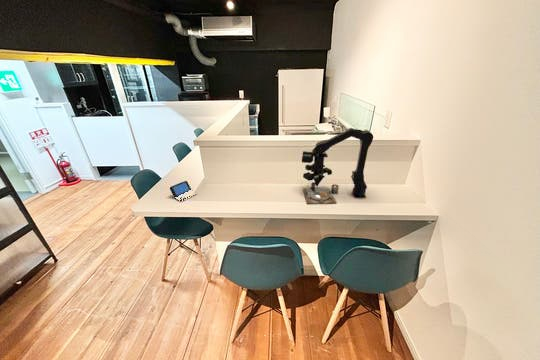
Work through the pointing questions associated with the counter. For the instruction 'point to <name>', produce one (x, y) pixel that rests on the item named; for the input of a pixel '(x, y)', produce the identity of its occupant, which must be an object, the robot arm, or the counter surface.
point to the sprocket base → (311, 201)
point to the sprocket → (318, 193)
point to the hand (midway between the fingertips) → (316, 185)
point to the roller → (334, 189)
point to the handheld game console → (180, 189)
